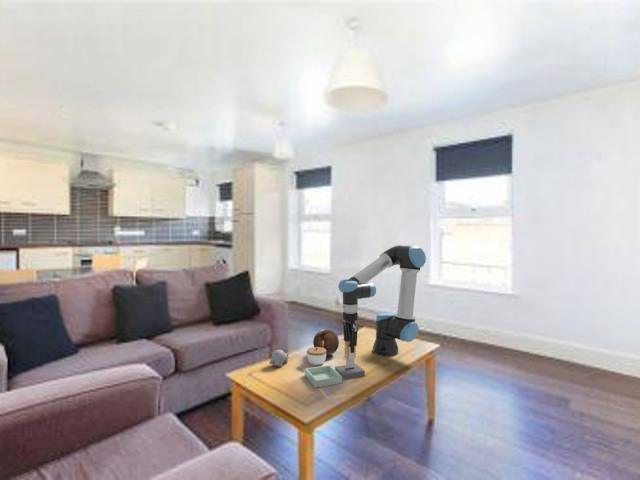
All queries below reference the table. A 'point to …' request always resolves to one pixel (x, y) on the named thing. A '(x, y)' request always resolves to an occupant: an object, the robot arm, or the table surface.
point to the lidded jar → (316, 355)
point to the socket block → (350, 371)
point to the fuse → (348, 361)
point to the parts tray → (323, 376)
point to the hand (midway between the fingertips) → (350, 357)
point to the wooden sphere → (326, 341)
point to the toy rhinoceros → (279, 358)
